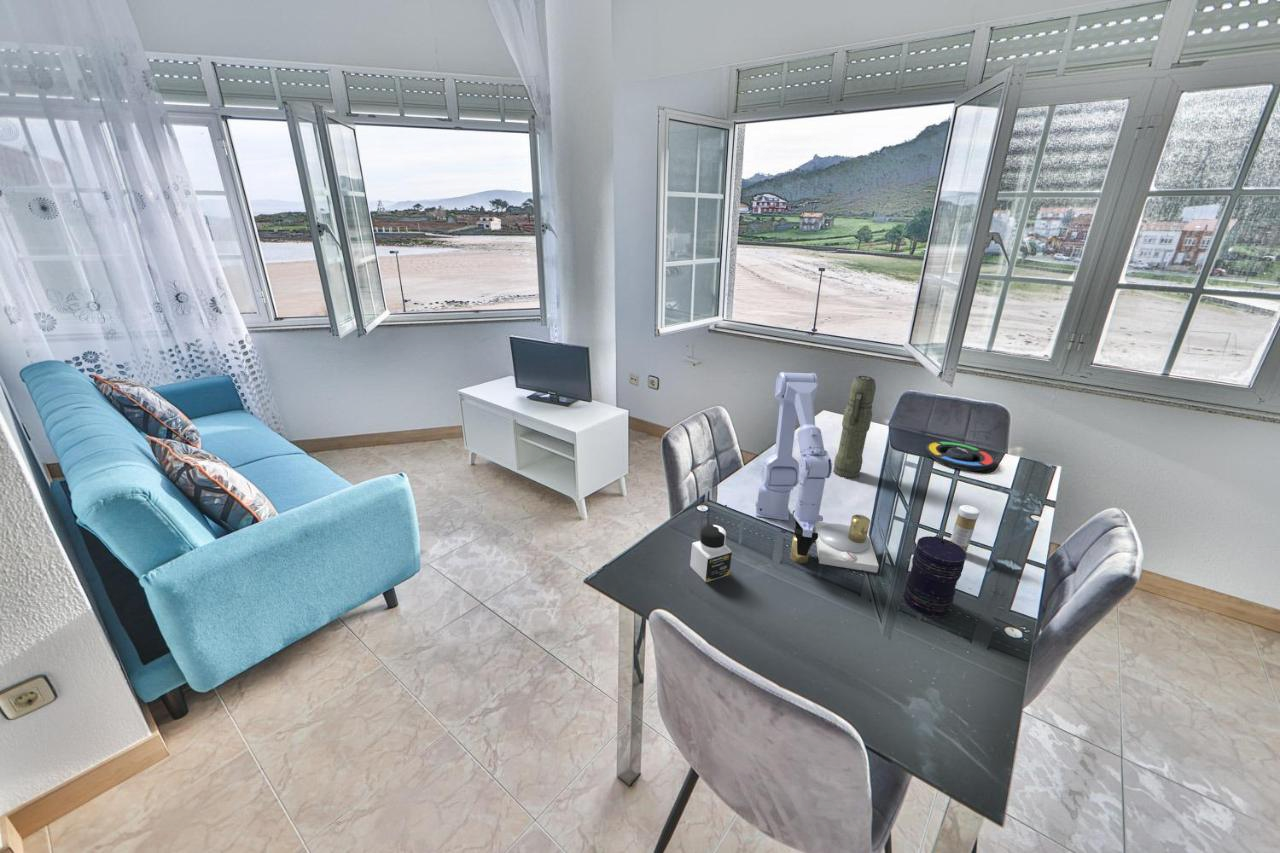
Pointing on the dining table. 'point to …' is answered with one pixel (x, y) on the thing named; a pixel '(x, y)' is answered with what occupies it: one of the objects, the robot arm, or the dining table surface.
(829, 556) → the kitchen scale
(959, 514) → the sprinkles bottle
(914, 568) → the storage jar
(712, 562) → the medicine bottle
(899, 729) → the dining table surface
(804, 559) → the cylinder
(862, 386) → the thermos
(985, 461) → the electronic game
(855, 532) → the cylinder
